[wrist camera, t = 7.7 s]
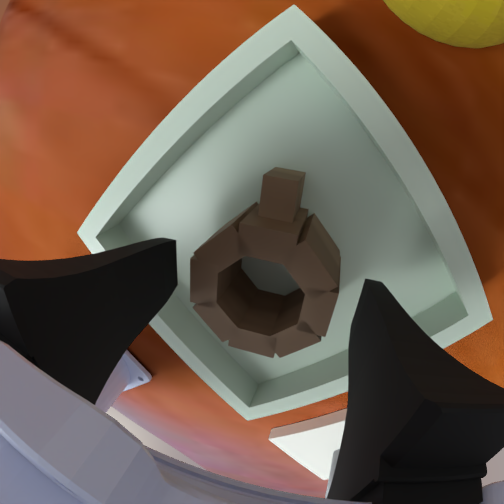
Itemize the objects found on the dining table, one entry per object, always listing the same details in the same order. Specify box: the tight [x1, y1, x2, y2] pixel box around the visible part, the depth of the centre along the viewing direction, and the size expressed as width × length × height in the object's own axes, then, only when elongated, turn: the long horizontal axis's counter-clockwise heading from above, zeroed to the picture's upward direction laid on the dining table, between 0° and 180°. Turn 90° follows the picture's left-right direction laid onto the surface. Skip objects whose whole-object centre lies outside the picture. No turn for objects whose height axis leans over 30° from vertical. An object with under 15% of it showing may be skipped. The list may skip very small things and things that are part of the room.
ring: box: [190, 167, 341, 358], centre depth 12 cm, size 7×5×3 cm
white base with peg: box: [269, 408, 347, 499], centre depth 16 cm, size 8×8×5 cm
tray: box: [77, 5, 493, 421], centre depth 13 cm, size 14×14×2 cm
